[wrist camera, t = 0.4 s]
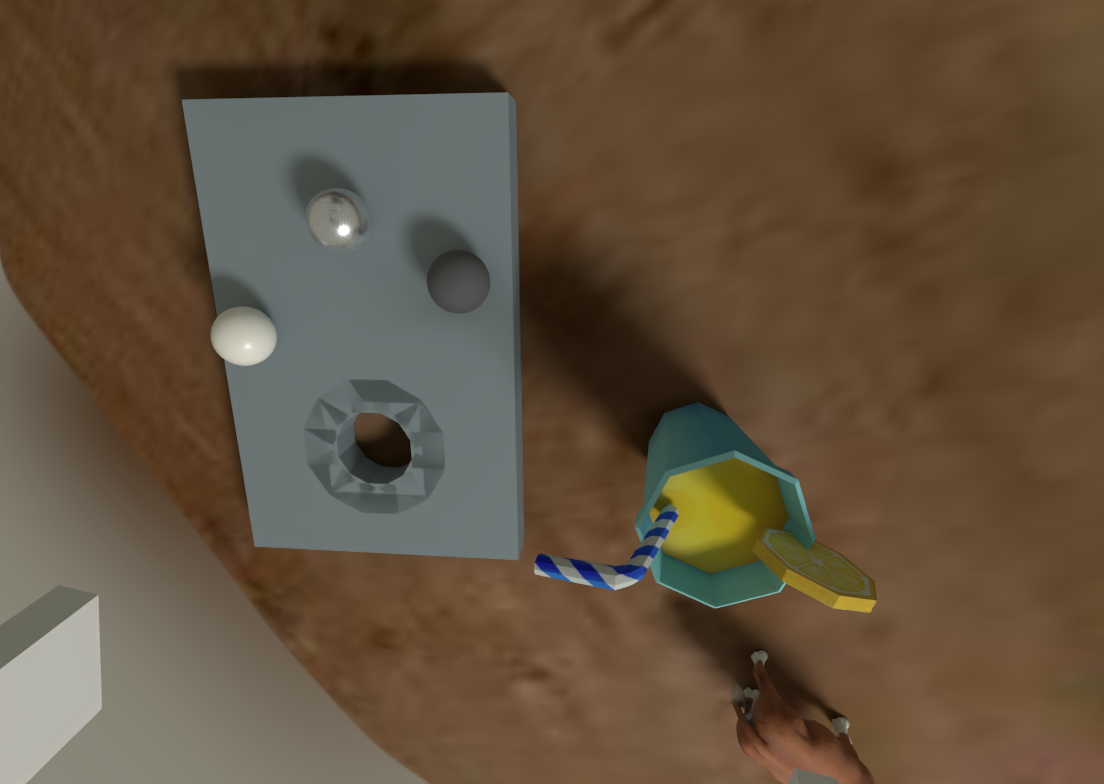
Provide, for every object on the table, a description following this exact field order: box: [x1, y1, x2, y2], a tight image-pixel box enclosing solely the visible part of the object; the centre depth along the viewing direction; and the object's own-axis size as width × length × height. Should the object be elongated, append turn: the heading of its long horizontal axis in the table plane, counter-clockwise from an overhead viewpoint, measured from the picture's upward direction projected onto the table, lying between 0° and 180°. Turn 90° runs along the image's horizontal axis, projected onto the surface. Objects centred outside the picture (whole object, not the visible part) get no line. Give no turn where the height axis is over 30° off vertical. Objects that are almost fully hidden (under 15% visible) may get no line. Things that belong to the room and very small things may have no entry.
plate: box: [182, 92, 524, 560], centre depth 35 cm, size 26×17×2 cm, turn 0°
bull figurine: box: [731, 650, 875, 784], centre depth 37 cm, size 4×13×8 cm, turn 45°
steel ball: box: [305, 188, 372, 253], centre depth 30 cm, size 3×3×3 cm
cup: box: [534, 402, 877, 613], centre depth 29 cm, size 14×8×15 cm, turn 88°
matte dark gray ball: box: [427, 250, 490, 314], centre depth 31 cm, size 3×3×3 cm
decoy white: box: [211, 306, 277, 366], centre depth 33 cm, size 3×3×3 cm
